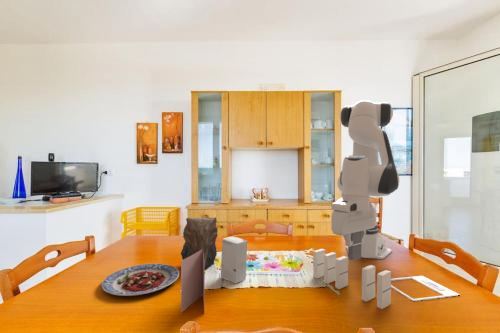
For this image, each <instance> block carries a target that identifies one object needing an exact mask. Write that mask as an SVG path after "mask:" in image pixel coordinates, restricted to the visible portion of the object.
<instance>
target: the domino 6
mask: <svg viewBox="0 0 500 333" xmlns="http://www.w3.org/2000/svg"><path fill="white" fill-rule="evenodd" d="M376 277H377V278H376V307H377V308H379V309H382V310H383V309H385V308H387V307H389V306H390V305H391V304H392V303H391V302H392V301H391V300H392V299H391V298H392V288H391V285H392V281H391V279H392V272H391V271H389V270H386V269H385V270H383V271H381V272H378V273H377V274H376Z"/></svg>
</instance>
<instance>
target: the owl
mask: <svg viewBox="0 0 500 333" xmlns="http://www.w3.org/2000/svg"><path fill="white" fill-rule="evenodd" d="M185 219H186V224H185V226H184V228H183V233H182V235H183V236H182V238H183V240H184V241H185V242H184V244H183V246H182V250H181V252H180V255H181V259H182V260H184V259H186V258H188V257H189V256H191V255H193V254H195V253H197V252H199V251H200V250H202V249H203V253H204V261H205V271H207V269H209V268H211V267H212V266H213V265H215V261H216V259H217V254H218V252H217V247H216V241H217V237H218V227H217V217H209V216H201V217H186V218H185Z"/></svg>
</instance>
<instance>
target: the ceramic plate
mask: <svg viewBox="0 0 500 333" xmlns="http://www.w3.org/2000/svg"><path fill="white" fill-rule="evenodd" d="M179 277H180V271H179V269H178V268H177V267H175V266H173V265H171V264H164V263H143V264H136V265H132V266H127V267H125V268H122V269H119V270H116V271H114V272H112V273H111V274H110V275H108V276H106V277H105V278H104V279H103V280H102V283H101V289H102V290H103V291H104V292H106V293H107V294H110V295H114V296H122V297H123V296H125V297H126V296H128V297H129V296H130V297H132V296H141V295H146V294H150V293H154V292H157V291H160V290H162V289H165V288H167V287H169V286H170V285H173V283H175V282H176V281H177V280H178V279H179Z"/></svg>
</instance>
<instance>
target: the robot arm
mask: <svg viewBox="0 0 500 333" xmlns="http://www.w3.org/2000/svg"><path fill="white" fill-rule="evenodd" d="M393 115H394V111H393V108H392V105H391V104H390V103H389V102H386V101H381V102H378V101H377V102H373V101H370V100H367V99H365V100H363V99H362V100H359V101H357V102H356V103H355V104H348V105H347V104H346V105H344V106H343V107H342V108H341V110H340V113H339V120H340V122H341V125H342V126H343V127H344V128H347V129H348V136H349V137H350V139H351V140H352V141H353V142H352V143H353V145H352V155H347V156H345V157H344V158H343V160H342V167H341V171H340V175H339V177H338V178H337V188H338V190H339V191H340V192H341V195H340V197H339V198H338V199H336V200H335V201H334V202H332V203H331V210H333V211H332V213H331V219H330V220H331V222H330V223H331V228H330V229H331V231H332V234H334V235H337V236H341V237H343V239H344V240H345V243H344V245H345V249H346V250H347V251H348V247H351V246H353V241H351V239H350V237H351V233H355V232H359V231H361V258H364V259H377V260H382V259H383V260H384V259H385V258H386V257H388V255H390V254H391V253H392V252H393V250H392V249H391V248H389V247H387V240H386V238H384V237H383V235H382V234H380V232H379V230H382V229H381V228H382V225H381V224H377V209H376V207H375V206H374V205H373V203H371V201H370V199H371V198H370V197H387V196H390V195H391V194H393V193H394V192H396V190H398V189H399V185H400V175H399V173H398V170H397V168H396V164H395V161H394V155H393V152H392V147H391V142H390V139H389V136H388V134H387V132H386V131H385V130H382V129H383V128H384V127H386V126H388V125H389V124H390V123H391V120H392V119H393ZM379 157H380V160H379ZM380 163H381V164H380Z"/></svg>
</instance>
